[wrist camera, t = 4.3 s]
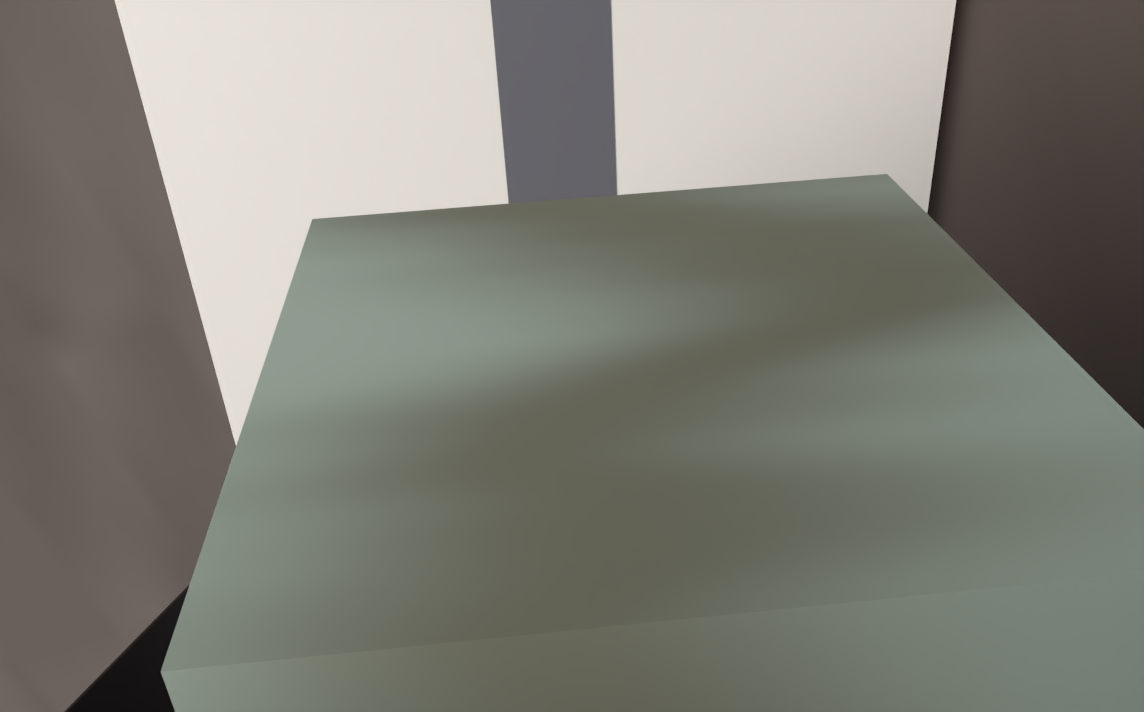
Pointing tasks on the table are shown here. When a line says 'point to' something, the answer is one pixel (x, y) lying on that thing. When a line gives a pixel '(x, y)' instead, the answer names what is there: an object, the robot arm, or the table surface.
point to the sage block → (667, 473)
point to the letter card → (502, 116)
